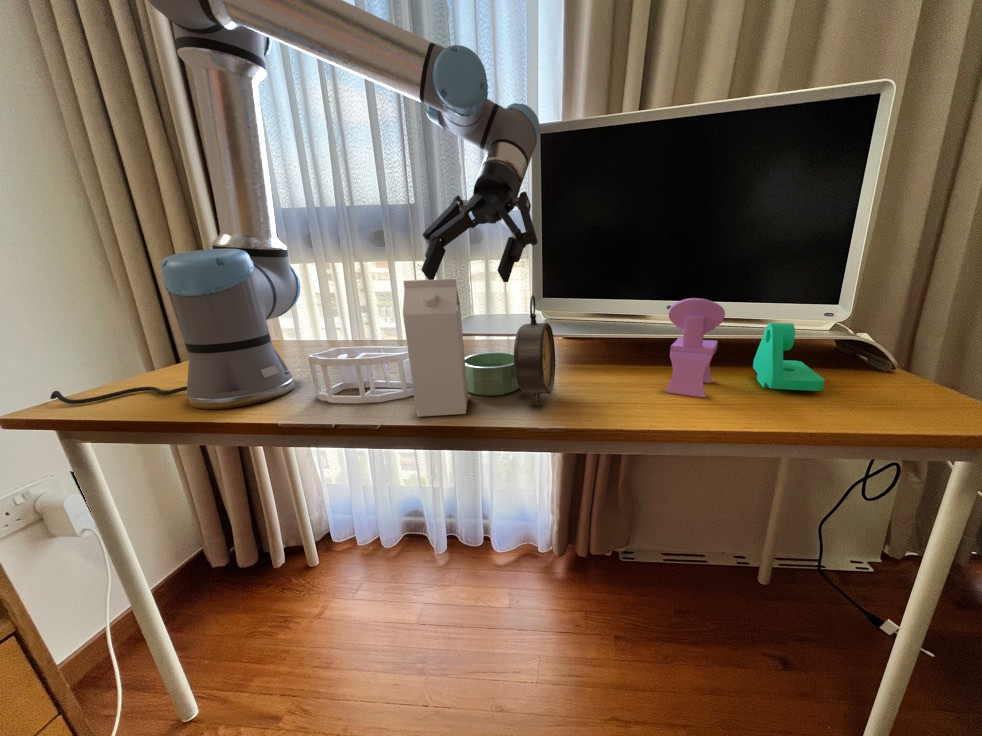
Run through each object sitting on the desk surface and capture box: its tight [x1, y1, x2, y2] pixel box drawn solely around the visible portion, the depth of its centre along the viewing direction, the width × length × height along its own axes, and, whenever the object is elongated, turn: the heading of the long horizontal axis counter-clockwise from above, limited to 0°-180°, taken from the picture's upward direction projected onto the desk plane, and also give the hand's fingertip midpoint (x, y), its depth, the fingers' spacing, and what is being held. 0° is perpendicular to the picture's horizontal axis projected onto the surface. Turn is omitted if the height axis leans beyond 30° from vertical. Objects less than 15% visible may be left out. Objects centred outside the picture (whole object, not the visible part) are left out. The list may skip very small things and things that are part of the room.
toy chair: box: [665, 297, 726, 398], centre depth 70 cm, size 8×9×15 cm
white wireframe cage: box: [308, 345, 414, 404], centre depth 72 cm, size 20×11×7 cm, turn 85°
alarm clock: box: [513, 294, 556, 408], centre depth 66 cm, size 11×5×16 cm, turn 168°
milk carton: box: [402, 278, 469, 418], centre depth 63 cm, size 7×7×19 cm
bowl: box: [465, 351, 520, 397], centre depth 74 cm, size 10×10×5 cm
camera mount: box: [752, 322, 826, 392], centre depth 71 cm, size 12×8×10 cm, turn 168°
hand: (463, 276), depth 67 cm, fingers open, 13 cm apart
